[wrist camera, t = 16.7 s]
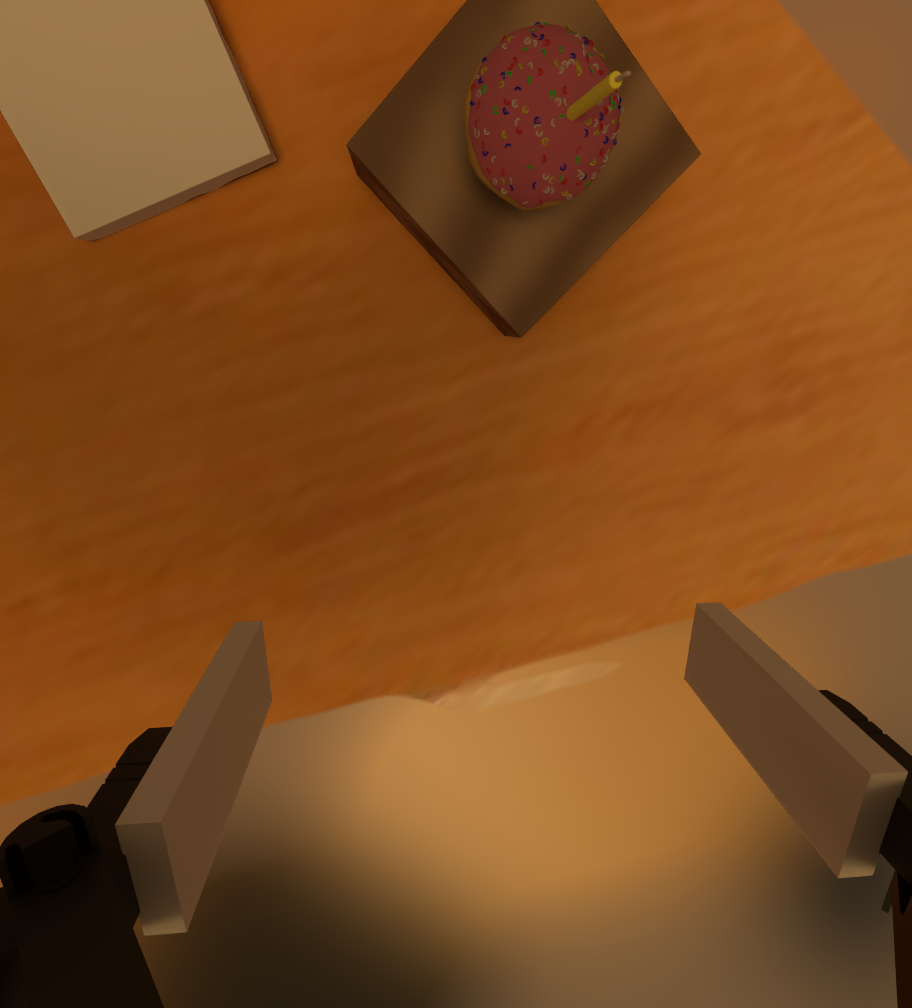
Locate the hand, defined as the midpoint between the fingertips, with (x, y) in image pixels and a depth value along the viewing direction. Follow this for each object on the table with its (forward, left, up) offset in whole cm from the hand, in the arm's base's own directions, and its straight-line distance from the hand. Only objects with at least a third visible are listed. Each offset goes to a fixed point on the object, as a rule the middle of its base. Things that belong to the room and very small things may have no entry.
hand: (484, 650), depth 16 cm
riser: (-10, +18, -32) cm, 38 cm away
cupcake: (-10, +18, -25) cm, 32 cm away
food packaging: (-35, +4, -32) cm, 48 cm away
